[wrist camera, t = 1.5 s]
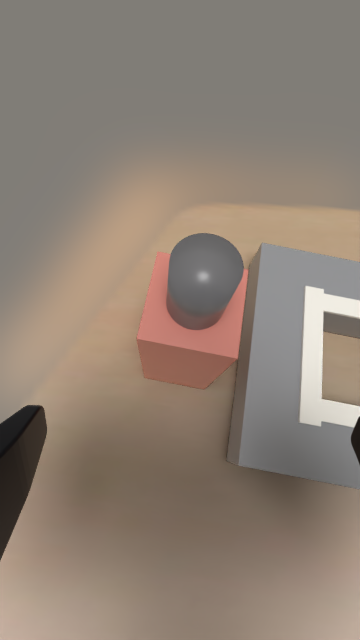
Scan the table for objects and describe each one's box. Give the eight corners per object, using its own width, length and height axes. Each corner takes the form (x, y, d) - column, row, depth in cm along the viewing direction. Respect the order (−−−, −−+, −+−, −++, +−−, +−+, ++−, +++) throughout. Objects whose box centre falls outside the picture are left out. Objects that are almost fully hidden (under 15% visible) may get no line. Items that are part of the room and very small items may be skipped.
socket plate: (449, 504, 19) (504, 517, 16) (226, 460, 19) (239, 465, 16) (427, 300, 24) (465, 281, 21) (249, 265, 24) (263, 240, 21)
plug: (204, 389, 20) (262, 335, 9) (144, 377, 20) (130, 309, 9) (212, 332, 22) (272, 226, 11) (157, 321, 22) (158, 203, 11)
